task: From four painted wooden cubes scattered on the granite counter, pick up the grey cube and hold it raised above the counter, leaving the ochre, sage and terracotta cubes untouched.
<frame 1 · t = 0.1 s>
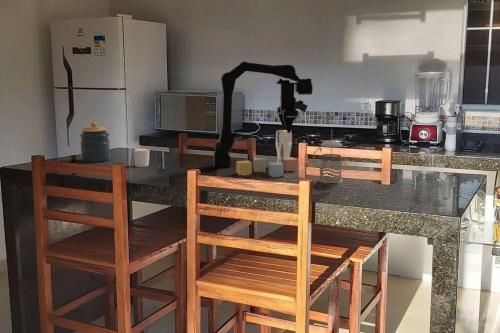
hand: (287, 131, 238), 15 cm above the counter, tool pointing down, fingers open, 9 cm apart
sage block: (259, 170, 229), on the counter
beer glass: (283, 165, 241), on the counter
grey cube: (275, 175, 219), on the counter
white cup: (142, 166, 241), on the counter
french press: (328, 181, 209), on the counter
ochre block: (244, 174, 222), on the counter
terracotta block: (288, 170, 229), on the counter
canister: (95, 160, 254), on the counter
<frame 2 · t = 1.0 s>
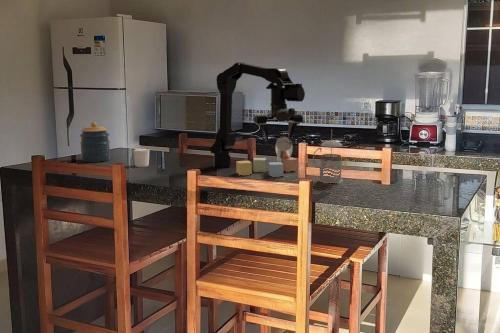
hand: (278, 140, 219), 13 cm above the counter, tool pointing down, fingers open, 9 cm apart
beer glass: (284, 160, 239), point 2 cm above the counter, touching terracotta block
terracotta block: (289, 170, 229), on the counter, touching beer glass
everything else where it was.
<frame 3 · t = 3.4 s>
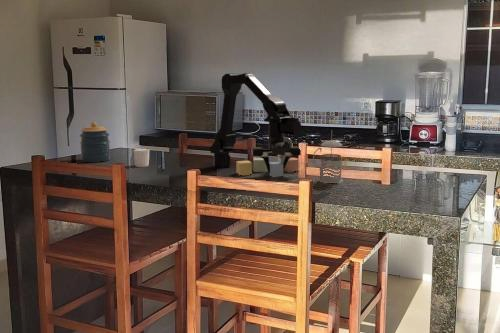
hand: (275, 173, 219), 1 cm above the counter, tool pointing down, fingers closed on grey cube, 5 cm apart
beer glass: (284, 161, 238), point 2 cm above the counter
grey cube: (275, 175, 219), on the counter, touching gripper
terracotta block: (290, 171, 228), on the counter
everything else where it was.
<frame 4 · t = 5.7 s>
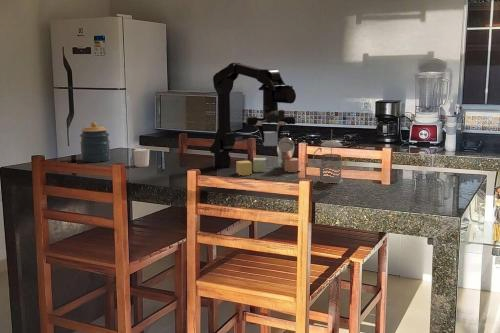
hand: (270, 142, 218), 13 cm above the counter, tool pointing down, fingers closed on grey cube, 5 cm apart
beer glass: (284, 161, 238), point 2 cm above the counter, touching terracotta block
grey cube: (270, 145, 218), point 12 cm above the counter, touching gripper
terracotta block: (292, 171, 228), on the counter, touching beer glass
everything else where it was.
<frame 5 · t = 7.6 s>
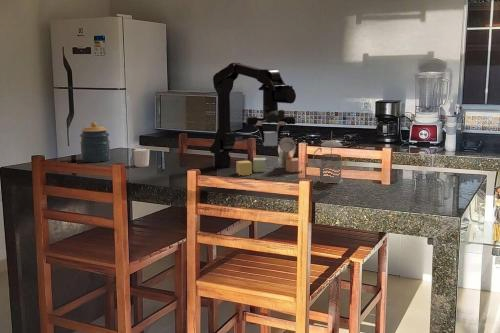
hand: (270, 142, 218), 13 cm above the counter, tool pointing down, fingers closed on grey cube, 5 cm apart
grey cube: (270, 145, 218), point 12 cm above the counter, touching gripper
at the end: the gripper is holding grey cube; grey cube point 11.9 cm above the counter; ochre block moved 0.1 cm from its start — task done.
